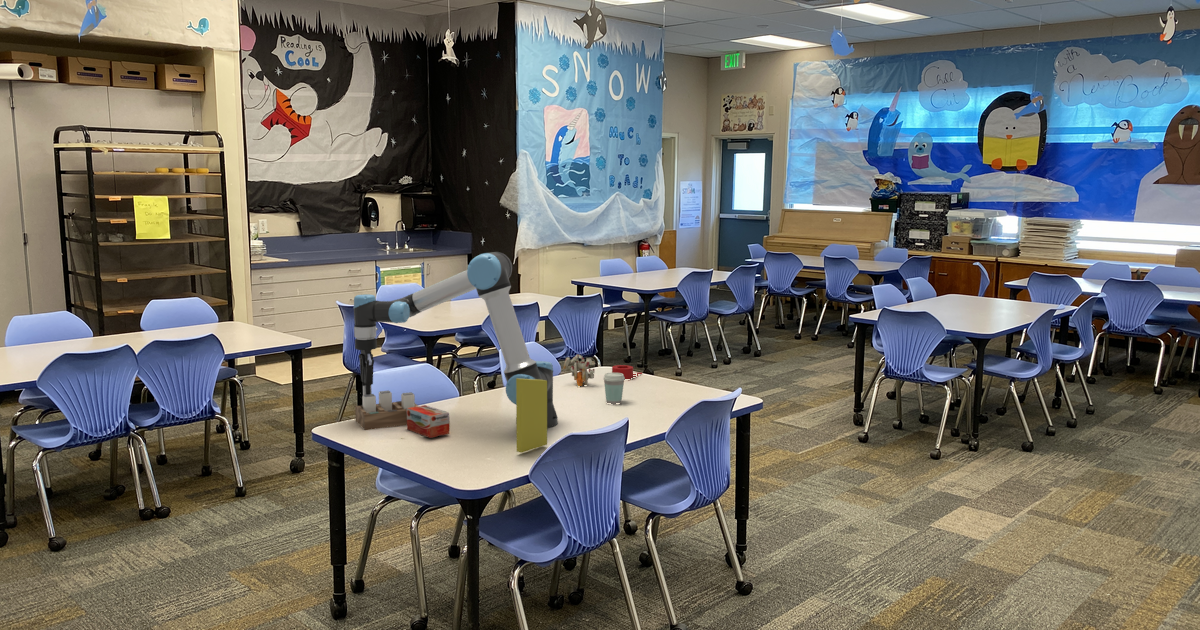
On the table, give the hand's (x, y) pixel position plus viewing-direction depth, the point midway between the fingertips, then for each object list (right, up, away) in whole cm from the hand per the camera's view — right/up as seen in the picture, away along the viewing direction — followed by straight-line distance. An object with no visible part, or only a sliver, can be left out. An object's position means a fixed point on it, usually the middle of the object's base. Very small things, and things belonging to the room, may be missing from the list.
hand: (367, 402), depth 309 cm
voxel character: (+75, 0, +58) cm, 95 cm away
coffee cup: (+89, -4, +32) cm, 95 cm away
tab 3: (+14, -4, +1) cm, 15 cm away
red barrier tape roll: (+97, +2, +78) cm, 124 cm away
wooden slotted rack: (+7, -7, +1) cm, 10 cm away
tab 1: (+1, -4, -2) cm, 5 cm away
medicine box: (+24, -9, -11) cm, 28 cm away
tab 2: (+6, -4, +4) cm, 8 cm away
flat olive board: (+62, -12, -29) cm, 69 cm away
